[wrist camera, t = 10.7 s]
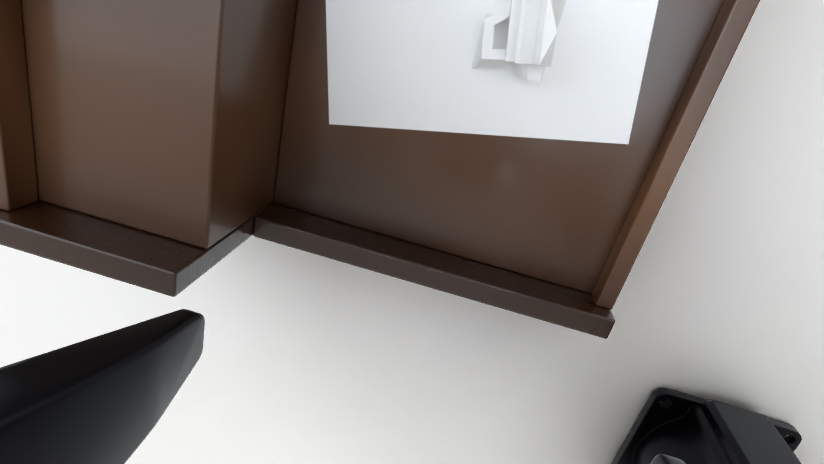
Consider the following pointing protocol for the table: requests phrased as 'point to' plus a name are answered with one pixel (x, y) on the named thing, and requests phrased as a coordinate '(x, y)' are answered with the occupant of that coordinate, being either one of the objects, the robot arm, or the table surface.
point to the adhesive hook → (489, 66)
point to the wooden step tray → (321, 156)
